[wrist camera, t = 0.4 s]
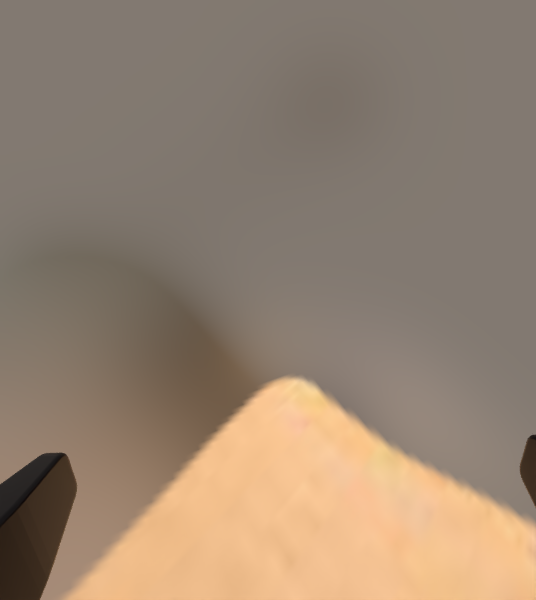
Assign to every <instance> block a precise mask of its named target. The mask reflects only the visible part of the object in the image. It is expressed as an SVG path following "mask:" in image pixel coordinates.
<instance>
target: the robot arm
mask: <svg viewBox="0 0 536 600" xmlns="http://www.w3.org/2000/svg"><path fill="white" fill-rule="evenodd" d="M520 474H521V478H522V480H523V482H524V484H525V486H526V488H527V490H528V493H529V494H530V497H531V499H532V501H533V503H534V505H535V507H536V435H531V436H530V437H529V438H528V440H527V442H526V446H525V449H524V453H523V457H522V460H521V463H520ZM76 492H77V483H76V479H75V476H74V473H73V470H72V467H71V464H70V461H69V459H68V456H67V455H66V454H65V453H45V454H42V455H41V456H39V457H37V458H36V459H35V460H33V461H32V462H30V463H29V464H28V465H26V466H25V467H23V468H22V469H21V470H19V471H18V472H17V473H15V474H14V475H13V476H11V477H10V478H8V479H7V480H6V481H4V482H3V483H1V484H0V600H40V598H41V596H42V593H43V590H44V588H45V586H46V583H47V581H48V578H49V575H50V572H51V570H52V567H53V564H54V561H55V558H56V555H57V552H58V549H59V546H60V542H61V539H62V536H63V533H64V530H65V527H66V524H67V521H68V518H69V515H70V512H71V509H72V506H73V502H74V499H75V496H76Z"/></svg>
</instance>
